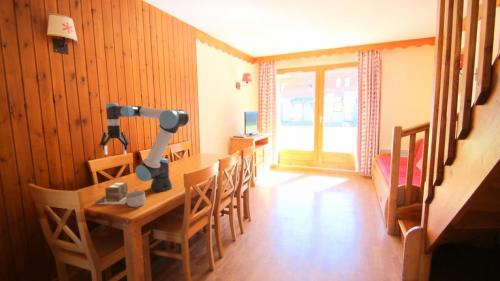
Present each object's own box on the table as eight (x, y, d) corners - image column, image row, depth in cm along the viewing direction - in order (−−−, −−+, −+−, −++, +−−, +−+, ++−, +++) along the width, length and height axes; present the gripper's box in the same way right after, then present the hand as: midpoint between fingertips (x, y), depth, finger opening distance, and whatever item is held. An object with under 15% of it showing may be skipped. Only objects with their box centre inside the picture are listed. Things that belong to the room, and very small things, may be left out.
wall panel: (138, 193, 178) (138, 191, 178) (124, 204, 158) (123, 201, 158) (113, 193, 178) (112, 191, 178) (95, 204, 158) (95, 201, 158)
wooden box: (116, 195, 174) (115, 182, 173) (127, 195, 174) (126, 182, 173) (106, 201, 162) (105, 187, 161) (118, 201, 162) (117, 187, 161)
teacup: (143, 208, 152) (143, 195, 151) (124, 210, 150) (123, 197, 149) (148, 200, 166) (147, 188, 165) (130, 201, 164) (129, 189, 163)
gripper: (92, 125, 175) (95, 155, 178) (128, 125, 175) (130, 155, 178) (99, 124, 183) (101, 153, 185) (133, 124, 182) (135, 153, 185)
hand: (115, 154), depth 182 cm, fingers open, 13 cm apart
